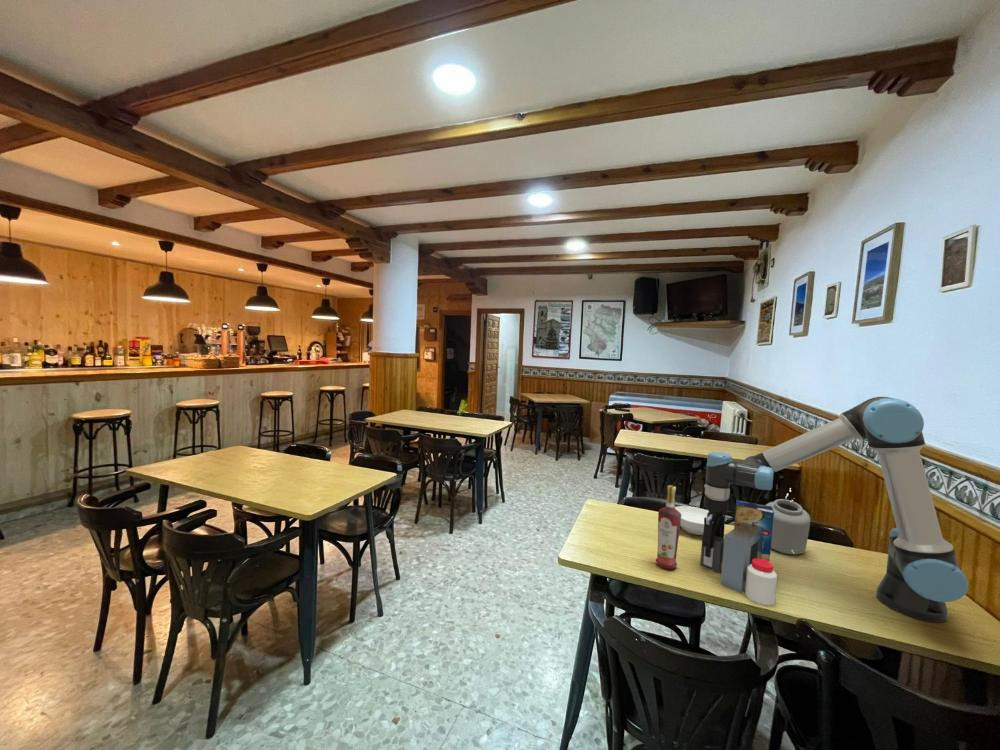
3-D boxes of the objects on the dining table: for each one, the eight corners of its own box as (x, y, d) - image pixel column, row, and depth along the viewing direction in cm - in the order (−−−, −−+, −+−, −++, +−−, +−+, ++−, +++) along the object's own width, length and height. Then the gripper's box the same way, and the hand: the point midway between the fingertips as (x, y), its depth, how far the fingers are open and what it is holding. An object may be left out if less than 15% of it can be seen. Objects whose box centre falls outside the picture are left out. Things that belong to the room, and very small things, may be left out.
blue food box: (768, 576, 137) (774, 512, 136) (731, 566, 142) (736, 505, 141) (767, 567, 143) (772, 506, 142) (731, 558, 148) (736, 500, 147)
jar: (814, 566, 145) (820, 497, 144) (766, 556, 151) (772, 490, 149) (799, 544, 162) (804, 483, 161) (756, 536, 168) (761, 477, 167)
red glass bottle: (680, 566, 140) (686, 487, 138) (672, 574, 134) (678, 491, 133) (659, 558, 145) (664, 481, 143) (651, 565, 139) (656, 485, 138)
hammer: (773, 586, 130) (776, 555, 129) (768, 592, 126) (770, 561, 125) (706, 560, 145) (708, 533, 144) (700, 565, 141) (702, 537, 140)
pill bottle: (775, 609, 118) (778, 572, 117) (744, 599, 122) (747, 564, 121) (774, 596, 124) (777, 561, 124) (745, 587, 128) (747, 554, 128)
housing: (761, 572, 138) (764, 526, 138) (741, 593, 125) (745, 542, 124) (741, 564, 143) (745, 520, 142) (720, 584, 129) (724, 535, 129)
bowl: (731, 543, 160) (732, 525, 160) (682, 540, 161) (683, 523, 160) (706, 523, 180) (707, 507, 180) (662, 520, 180) (664, 504, 180)
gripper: (715, 489, 149) (710, 550, 150) (694, 499, 136) (689, 566, 137) (737, 495, 143) (732, 558, 145) (717, 506, 131) (712, 575, 132)
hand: (711, 562), depth 141 cm, fingers closed on hammer, 6 cm apart
